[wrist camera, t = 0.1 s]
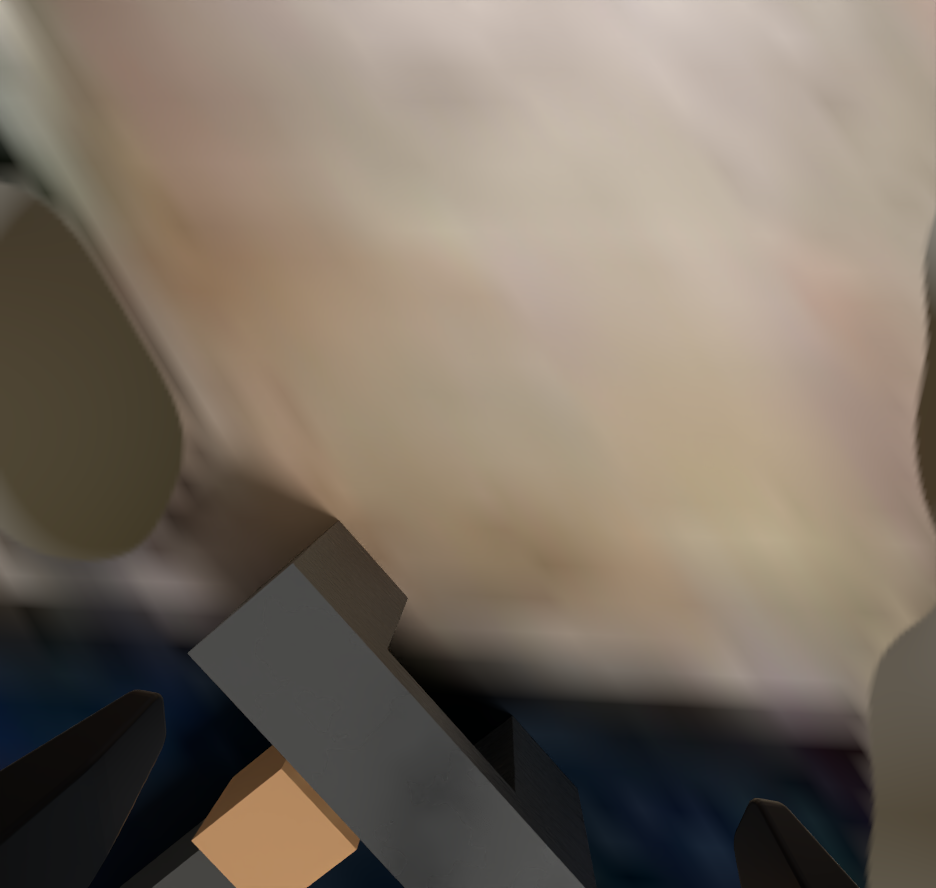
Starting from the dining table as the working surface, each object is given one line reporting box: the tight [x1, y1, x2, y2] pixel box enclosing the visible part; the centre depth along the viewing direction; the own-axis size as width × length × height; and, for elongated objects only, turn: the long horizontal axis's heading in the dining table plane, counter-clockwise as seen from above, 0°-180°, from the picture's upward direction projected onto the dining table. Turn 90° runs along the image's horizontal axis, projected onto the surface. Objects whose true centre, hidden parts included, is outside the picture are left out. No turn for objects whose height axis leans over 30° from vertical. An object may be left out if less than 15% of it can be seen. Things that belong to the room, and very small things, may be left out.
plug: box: [119, 745, 360, 888], centre depth 25 cm, size 19×4×4 cm, turn 131°
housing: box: [188, 521, 597, 888], centre depth 22 cm, size 5×16×6 cm, turn 41°
